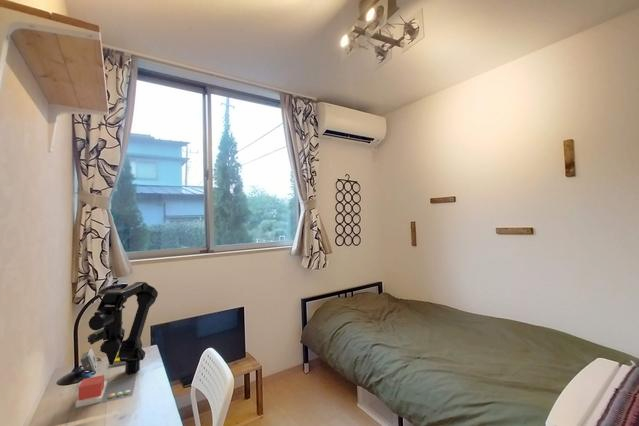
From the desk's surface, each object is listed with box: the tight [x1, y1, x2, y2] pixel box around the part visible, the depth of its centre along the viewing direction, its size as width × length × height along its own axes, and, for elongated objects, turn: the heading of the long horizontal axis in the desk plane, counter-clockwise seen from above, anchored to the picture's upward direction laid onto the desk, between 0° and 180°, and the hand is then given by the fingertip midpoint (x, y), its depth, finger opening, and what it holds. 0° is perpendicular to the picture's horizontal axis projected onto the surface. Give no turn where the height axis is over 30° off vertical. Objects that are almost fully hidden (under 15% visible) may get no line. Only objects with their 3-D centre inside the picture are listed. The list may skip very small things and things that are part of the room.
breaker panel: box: [70, 376, 137, 411], centre depth 119 cm, size 17×19×3 cm
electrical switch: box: [80, 348, 99, 373], centre depth 139 cm, size 9×5×9 cm, turn 32°
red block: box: [78, 374, 105, 401], centre depth 115 cm, size 7×7×5 cm
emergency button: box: [109, 351, 125, 369], centre depth 149 cm, size 9×4×15 cm
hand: (113, 360), depth 123 cm, fingers open, 9 cm apart
